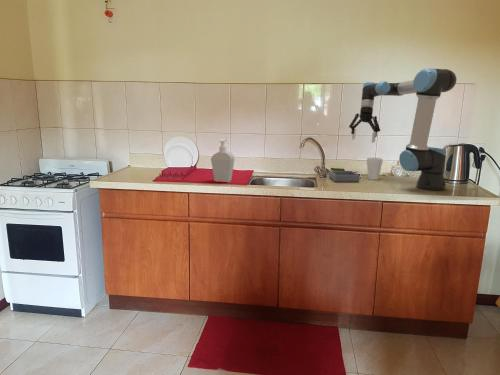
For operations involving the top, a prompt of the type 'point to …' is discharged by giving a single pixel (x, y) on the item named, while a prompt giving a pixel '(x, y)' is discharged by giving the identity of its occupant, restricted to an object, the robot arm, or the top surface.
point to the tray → (344, 176)
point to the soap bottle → (222, 164)
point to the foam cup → (374, 168)
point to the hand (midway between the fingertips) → (363, 140)
